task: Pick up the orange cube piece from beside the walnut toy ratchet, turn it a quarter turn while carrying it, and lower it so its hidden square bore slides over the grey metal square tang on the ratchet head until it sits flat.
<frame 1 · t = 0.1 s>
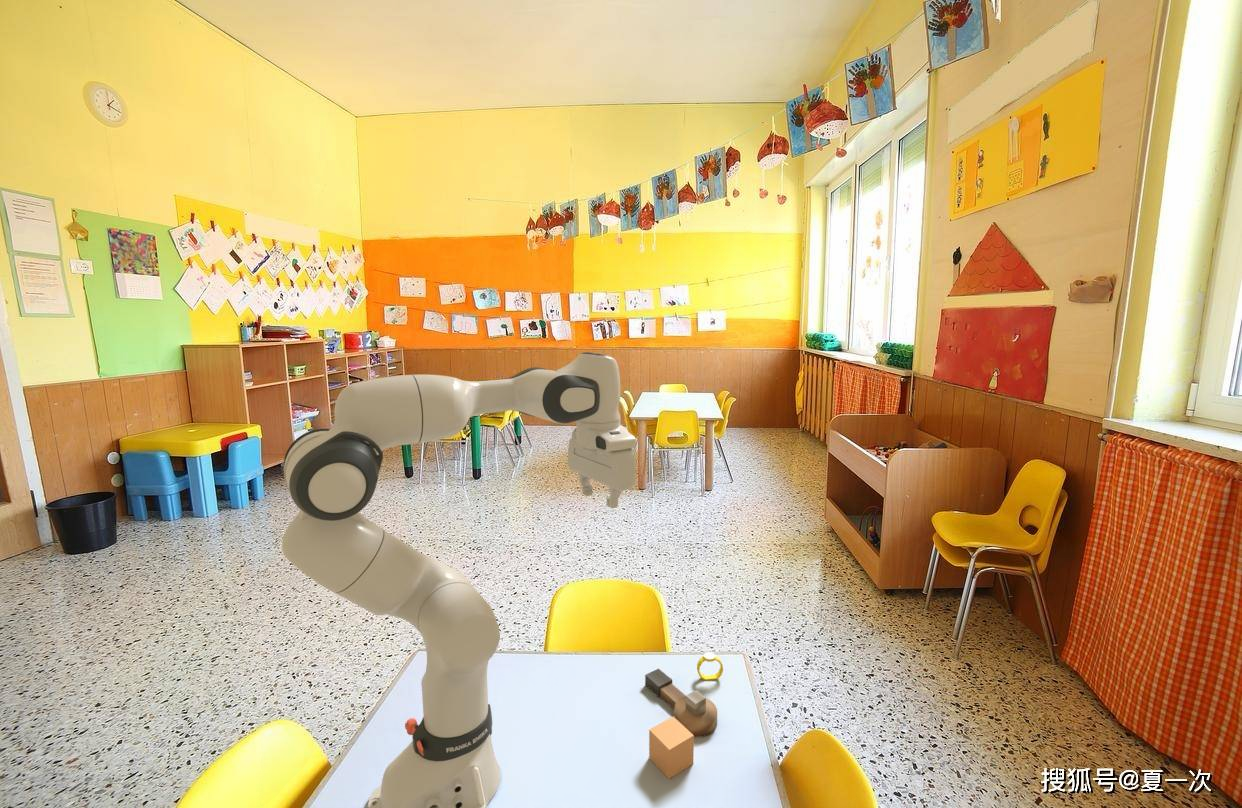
hand: (599, 500, 106), 48 cm above the table, tool pointing down, fingers open, 8 cm apart
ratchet: (695, 720, 110), on the table
orange cube piece: (671, 760, 100), on the table
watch: (709, 679, 124), on the table
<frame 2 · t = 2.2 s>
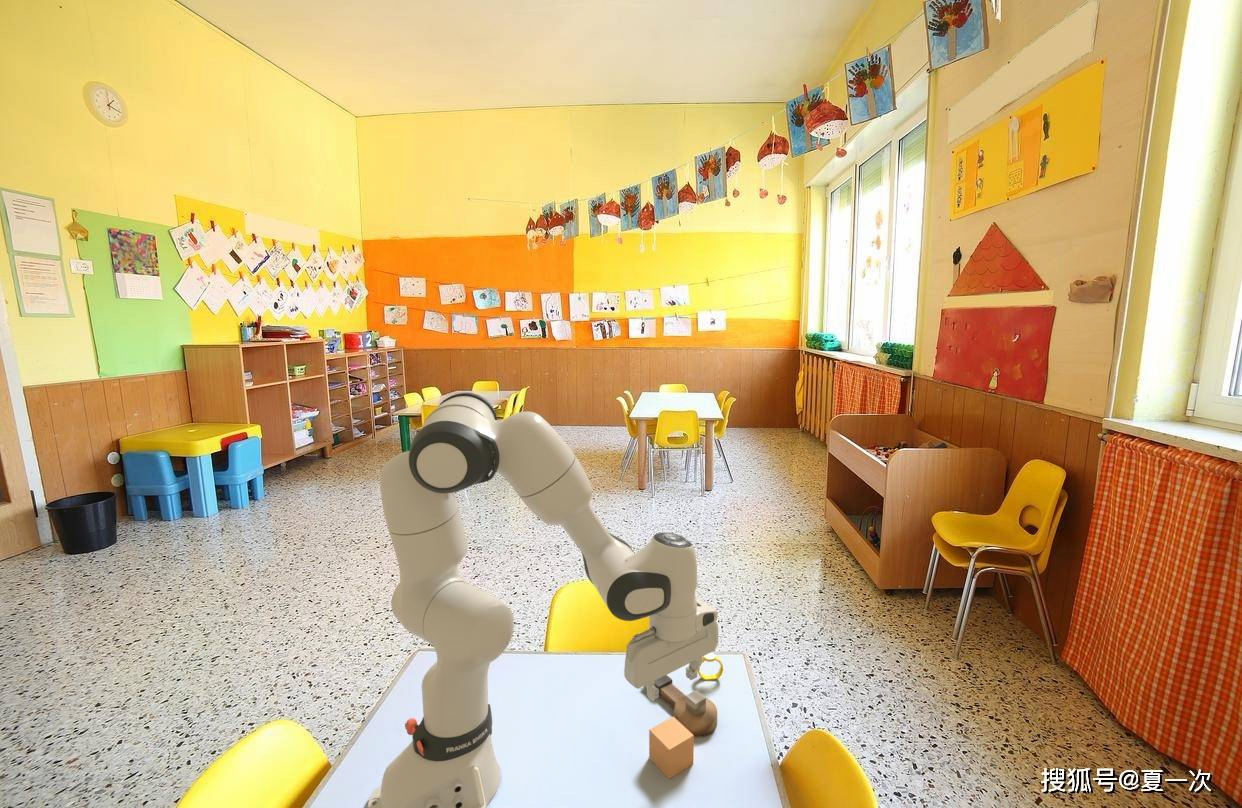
hand: (672, 687, 98), 15 cm above the table, tool pointing down, fingers open, 8 cm apart
nothing on the table moved.
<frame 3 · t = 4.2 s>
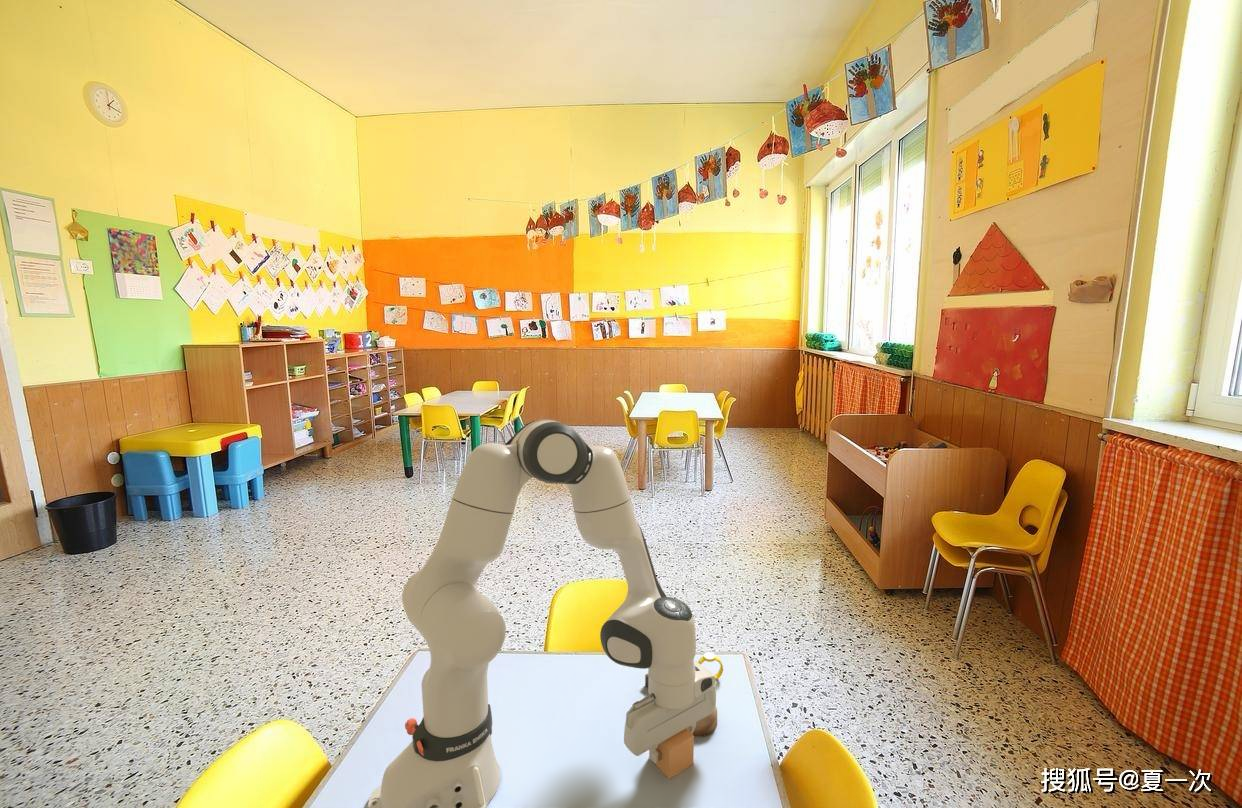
hand: (671, 750, 100), 2 cm above the table, tool pointing down, fingers closed on orange cube piece, 6 cm apart
orange cube piece: (671, 760, 100), on the table, touching gripper
everything else where it was.
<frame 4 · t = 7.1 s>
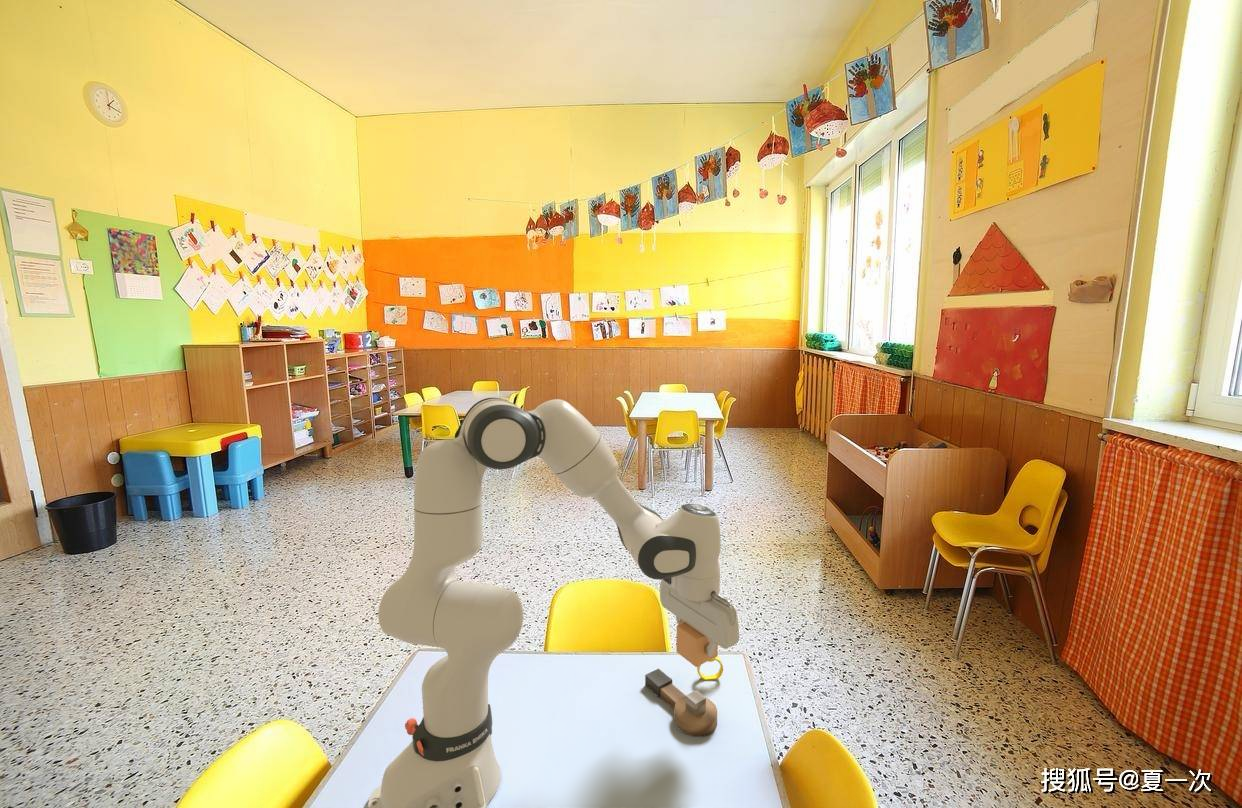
hand: (696, 644, 108), 17 cm above the table, tool pointing down, fingers closed on orange cube piece, 6 cm apart
orange cube piece: (696, 654, 108), point 15 cm above the table, touching gripper
everything else where it was.
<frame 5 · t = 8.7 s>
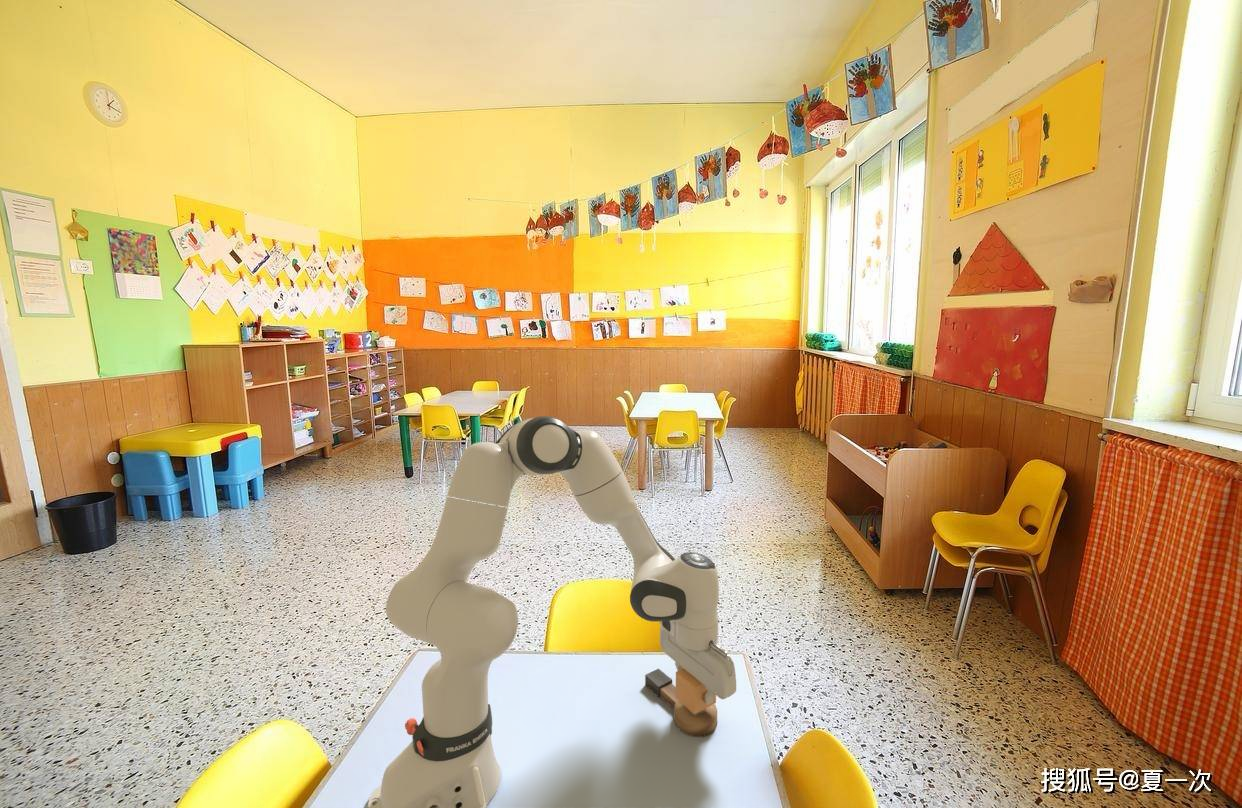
hand: (695, 691, 110), 6 cm above the table, tool pointing down, fingers closed on orange cube piece, 6 cm apart
orange cube piece: (695, 700, 110), point 4 cm above the table, touching gripper
everything else where it was.
when the fingers open (6 cm above the table, at t = 10.1 s): orange cube piece stays where it is, resting on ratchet.
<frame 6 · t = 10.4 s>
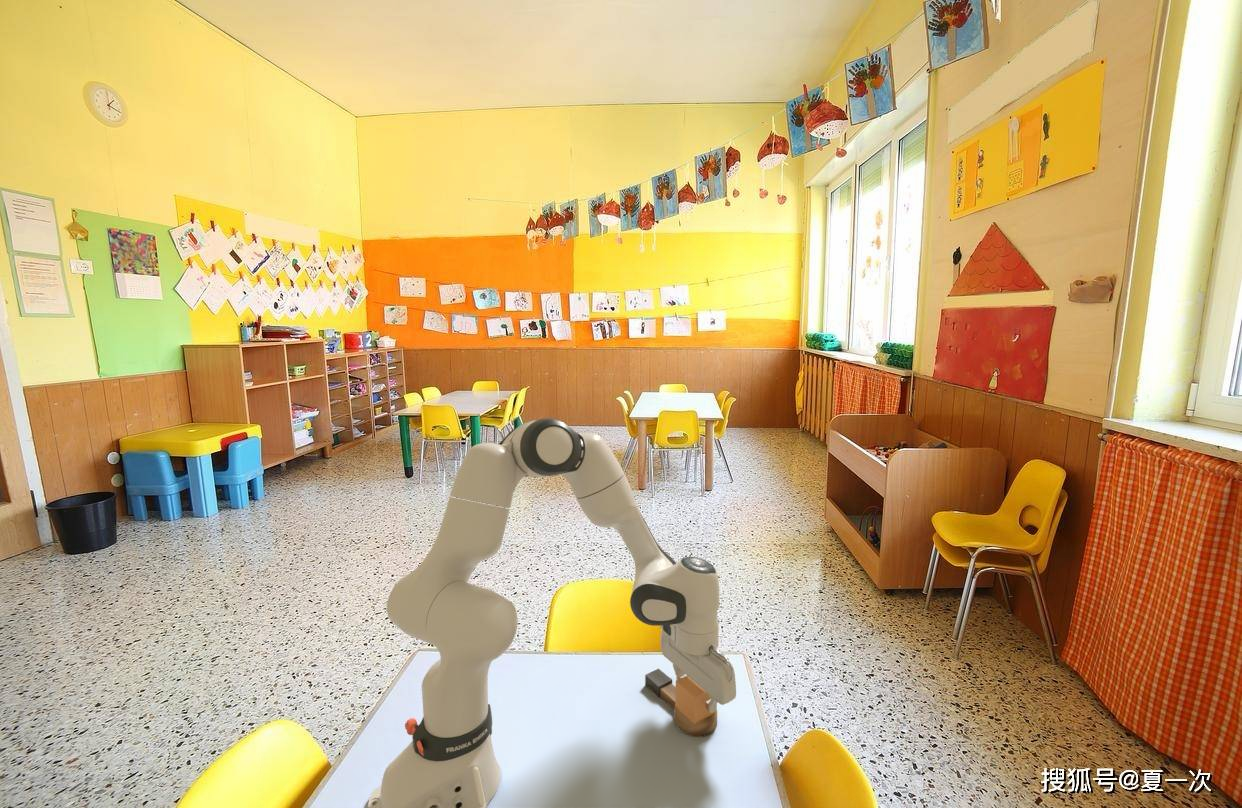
hand: (695, 696, 110), 6 cm above the table, tool pointing down, fingers open, 8 cm apart
orange cube piece: (695, 709, 110), point 2 cm above the table, touching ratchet
everything else where it was.
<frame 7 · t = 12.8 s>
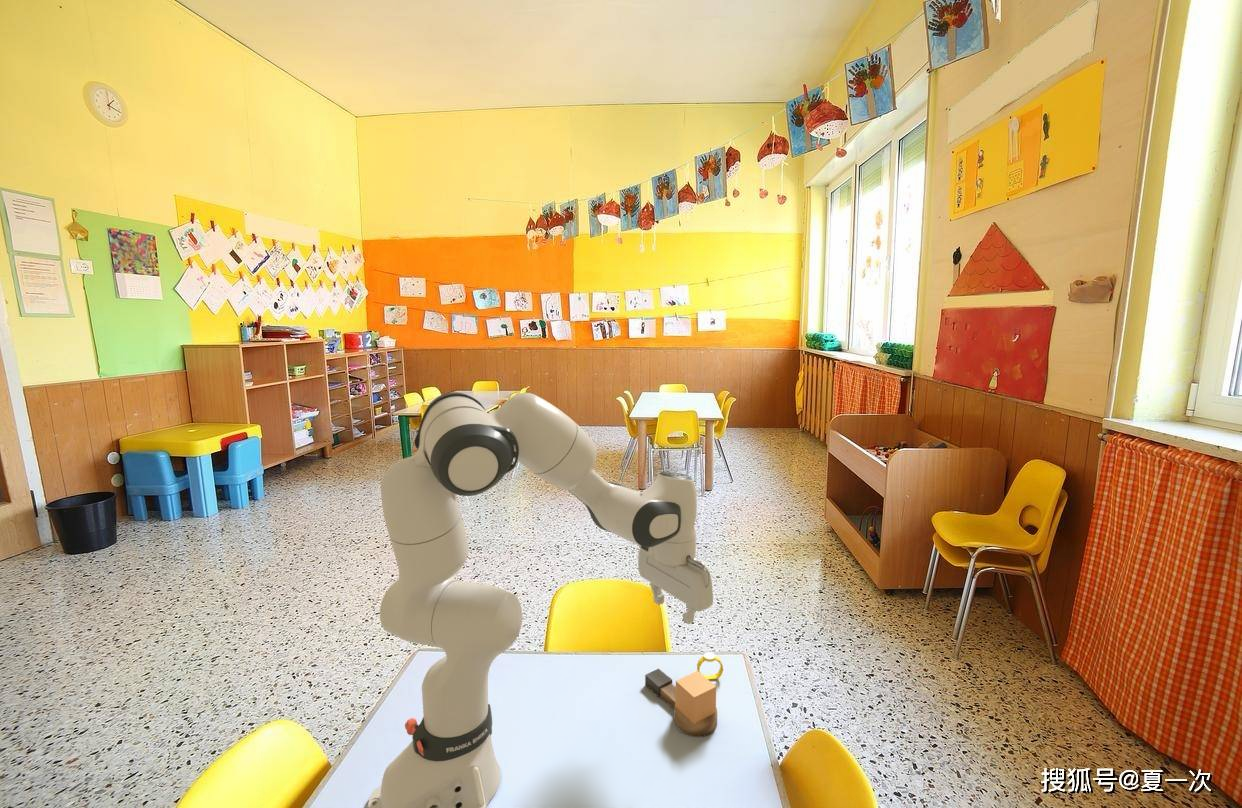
hand: (673, 612, 109), 23 cm above the table, tool pointing down, fingers open, 8 cm apart
nothing on the table moved.
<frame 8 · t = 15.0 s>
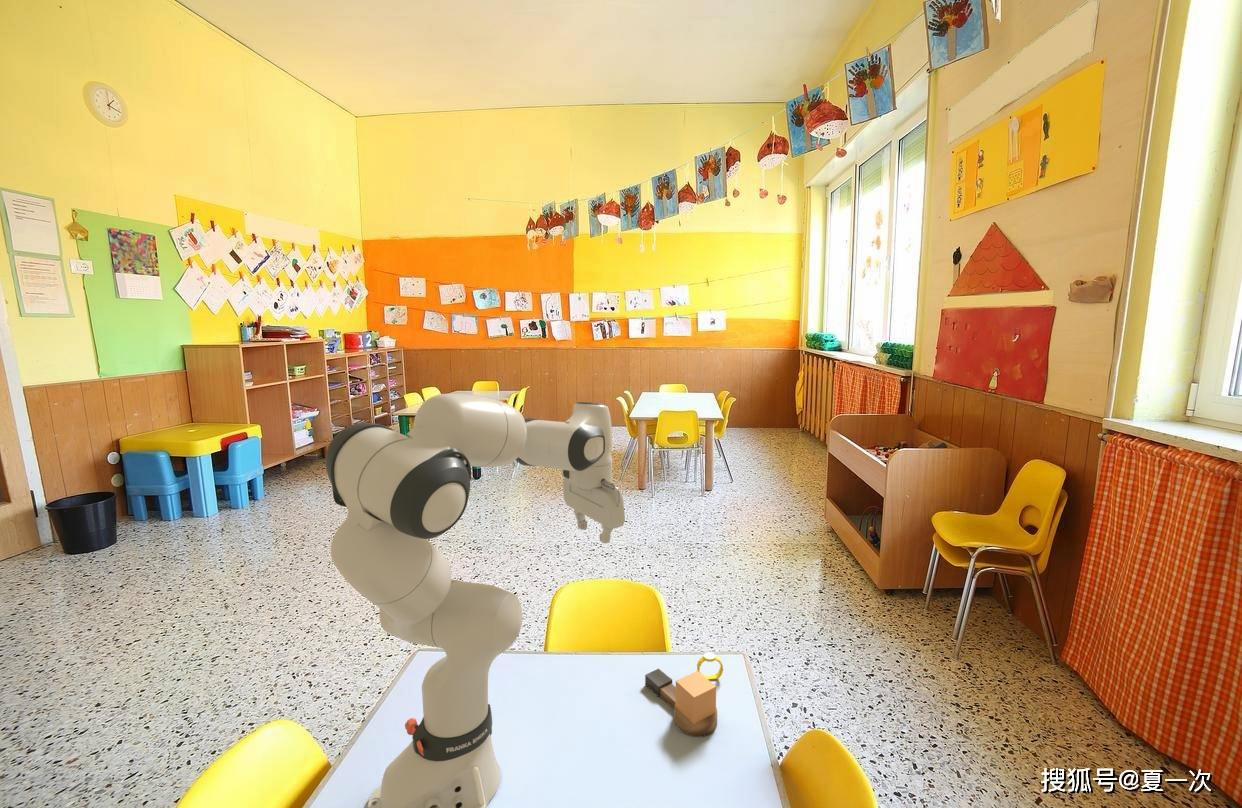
hand: (593, 535, 116), 37 cm above the table, tool pointing down, fingers open, 8 cm apart
nothing on the table moved.
at the end: orange cube piece 0.1 cm off-centre on the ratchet, point 2.5 cm above the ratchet's base; orange cube piece tilted 0°; the gripper is holding nothing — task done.
